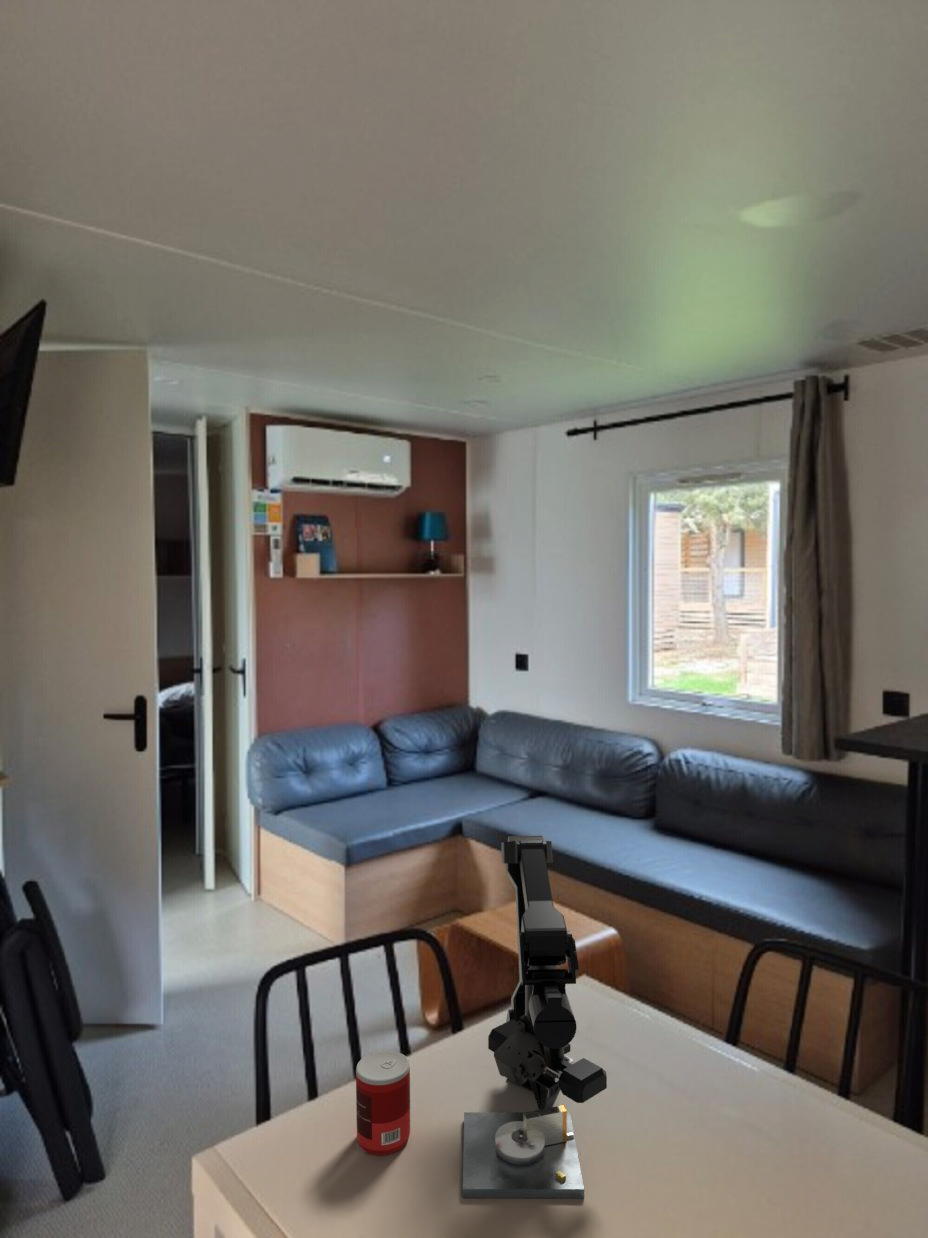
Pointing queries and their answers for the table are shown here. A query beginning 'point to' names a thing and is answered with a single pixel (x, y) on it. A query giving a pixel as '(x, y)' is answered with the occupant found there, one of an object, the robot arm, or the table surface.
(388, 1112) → the canned food
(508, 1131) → the dial
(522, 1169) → the panel
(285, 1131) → the table surface
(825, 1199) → the table surface
